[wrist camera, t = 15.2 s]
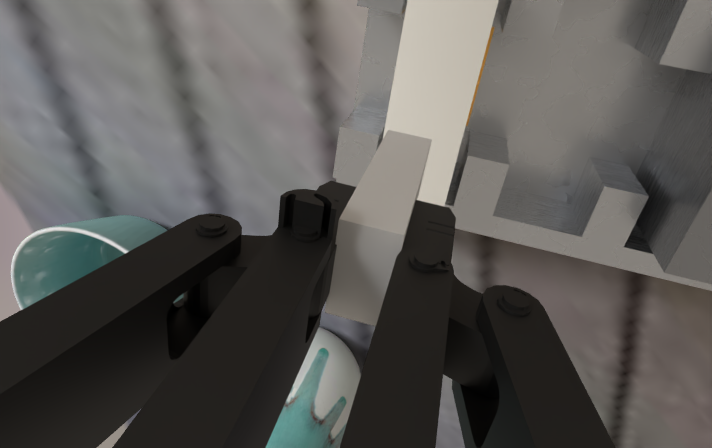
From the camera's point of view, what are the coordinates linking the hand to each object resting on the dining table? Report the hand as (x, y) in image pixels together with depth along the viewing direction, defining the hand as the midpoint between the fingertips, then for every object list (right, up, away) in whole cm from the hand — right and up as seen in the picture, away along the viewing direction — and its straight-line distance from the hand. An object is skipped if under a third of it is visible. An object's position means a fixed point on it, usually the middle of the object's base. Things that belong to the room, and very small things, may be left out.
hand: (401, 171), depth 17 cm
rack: (+12, +7, +16) cm, 21 cm away
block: (+4, +8, +15) cm, 18 cm away
